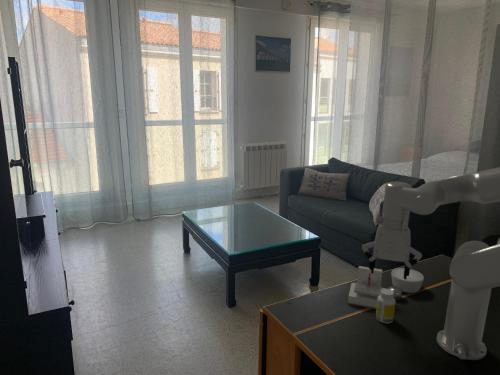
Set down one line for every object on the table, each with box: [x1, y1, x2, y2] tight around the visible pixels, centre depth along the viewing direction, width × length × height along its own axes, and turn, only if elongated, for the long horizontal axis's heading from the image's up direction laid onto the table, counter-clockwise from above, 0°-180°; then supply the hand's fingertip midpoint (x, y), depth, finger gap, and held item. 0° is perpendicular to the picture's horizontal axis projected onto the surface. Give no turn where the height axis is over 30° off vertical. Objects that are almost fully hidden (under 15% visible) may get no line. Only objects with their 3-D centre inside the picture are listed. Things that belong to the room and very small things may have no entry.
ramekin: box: [390, 267, 425, 294], centre depth 141 cm, size 11×11×5 cm
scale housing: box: [347, 265, 387, 310], centre depth 131 cm, size 10×12×10 cm
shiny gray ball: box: [388, 285, 402, 301], centre depth 134 cm, size 4×4×3 cm
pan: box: [354, 281, 383, 297], centre depth 131 cm, size 7×9×2 cm
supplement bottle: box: [375, 288, 396, 324], centre depth 120 cm, size 5×5×10 cm
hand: (388, 274), depth 118 cm, fingers open, 9 cm apart
